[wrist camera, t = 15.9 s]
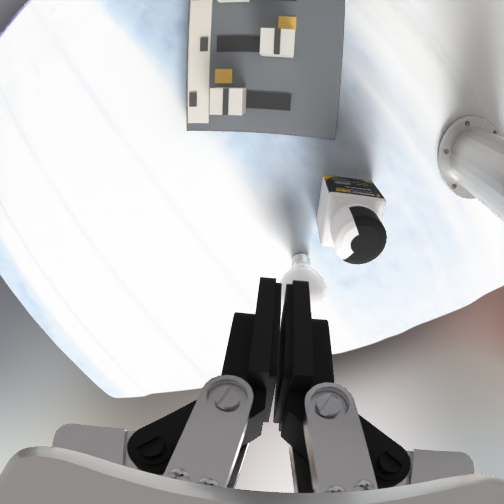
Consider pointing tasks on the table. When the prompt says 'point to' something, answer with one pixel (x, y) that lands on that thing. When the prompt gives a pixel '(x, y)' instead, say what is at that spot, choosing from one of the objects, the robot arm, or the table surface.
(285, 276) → the lightbulb
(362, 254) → the medicine bottle
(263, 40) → the switch
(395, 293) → the table surface
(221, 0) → the switch
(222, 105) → the switch
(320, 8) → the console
